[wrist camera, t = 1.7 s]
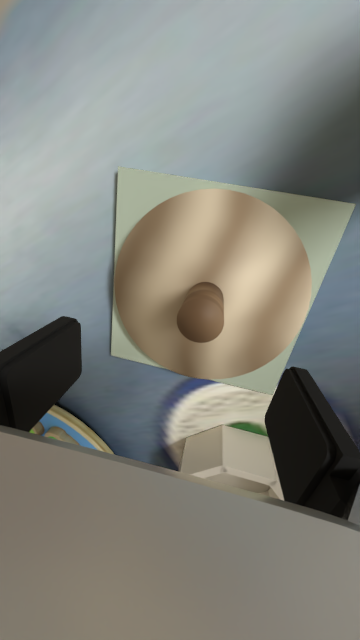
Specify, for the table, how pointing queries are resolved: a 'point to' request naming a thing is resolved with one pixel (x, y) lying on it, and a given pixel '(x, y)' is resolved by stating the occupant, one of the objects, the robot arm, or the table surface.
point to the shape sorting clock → (68, 430)
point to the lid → (213, 284)
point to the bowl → (232, 460)
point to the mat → (300, 211)
